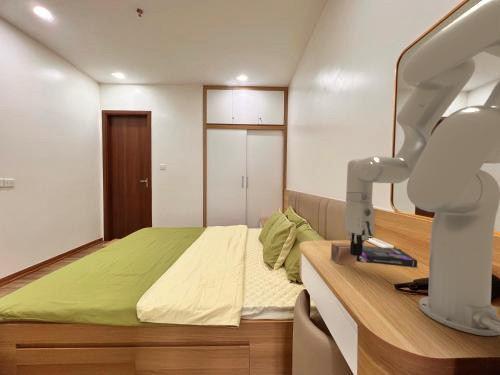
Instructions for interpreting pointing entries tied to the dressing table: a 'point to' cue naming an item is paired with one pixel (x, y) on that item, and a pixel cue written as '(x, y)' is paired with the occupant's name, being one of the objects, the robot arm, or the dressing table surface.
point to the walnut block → (342, 254)
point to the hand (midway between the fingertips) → (356, 254)
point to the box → (386, 256)
